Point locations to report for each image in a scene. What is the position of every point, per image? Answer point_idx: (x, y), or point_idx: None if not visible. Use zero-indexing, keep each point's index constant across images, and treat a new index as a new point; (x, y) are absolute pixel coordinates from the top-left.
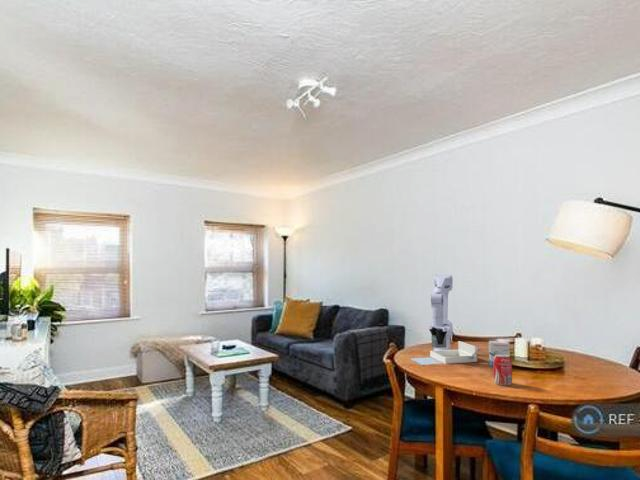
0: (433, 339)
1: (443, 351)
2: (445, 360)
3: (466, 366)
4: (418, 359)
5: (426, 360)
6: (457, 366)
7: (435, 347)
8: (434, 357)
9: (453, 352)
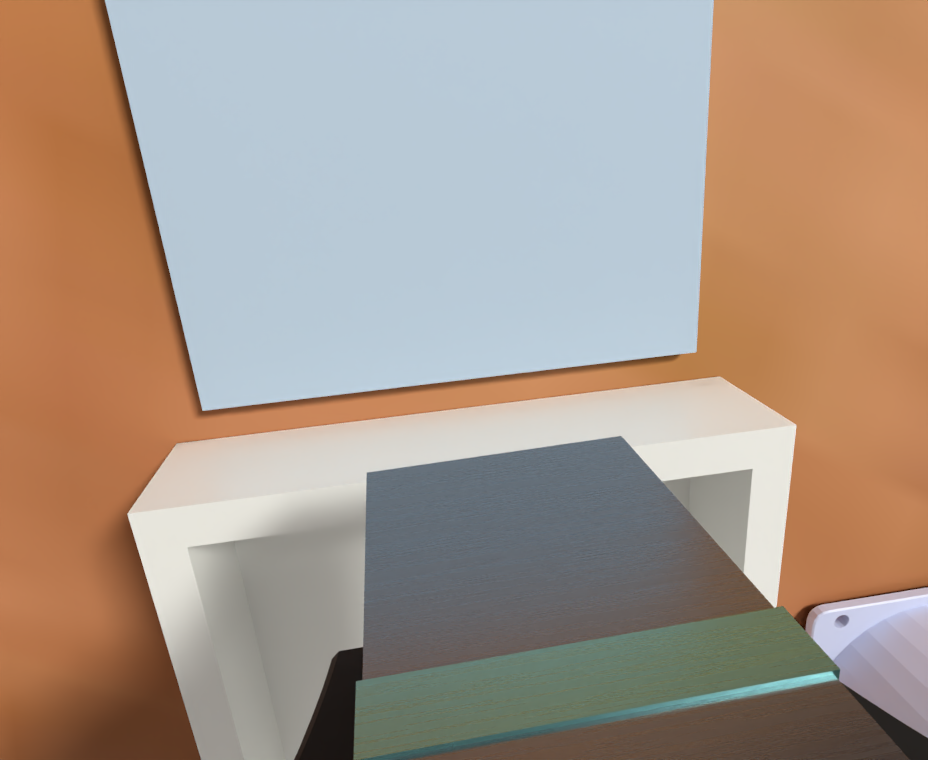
0: (579, 628)
1: None
2: (150, 483)
3: (63, 716)
4: (583, 27)
5: (465, 178)
6: (56, 592)
7: (383, 475)
8: (578, 410)
9: None
